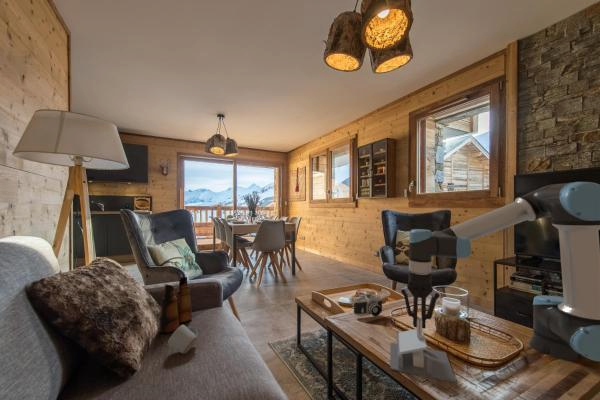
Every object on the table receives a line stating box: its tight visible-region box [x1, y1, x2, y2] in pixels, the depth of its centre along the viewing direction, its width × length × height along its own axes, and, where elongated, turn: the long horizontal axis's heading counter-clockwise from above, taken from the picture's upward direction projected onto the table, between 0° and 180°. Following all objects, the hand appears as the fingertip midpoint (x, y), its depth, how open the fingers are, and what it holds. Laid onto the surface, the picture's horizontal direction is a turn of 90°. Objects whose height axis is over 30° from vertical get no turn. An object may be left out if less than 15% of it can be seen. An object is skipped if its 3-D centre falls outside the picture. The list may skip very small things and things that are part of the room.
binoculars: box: [158, 276, 193, 334], centre depth 122 cm, size 18×8×20 cm, turn 169°
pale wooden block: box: [411, 351, 424, 368], centre depth 94 cm, size 3×9×3 cm, turn 161°
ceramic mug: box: [167, 324, 198, 355], centre depth 100 cm, size 11×8×8 cm
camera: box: [353, 293, 383, 317], centre depth 133 cm, size 16×9×10 cm, turn 104°
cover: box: [397, 328, 428, 354], centre depth 95 cm, size 9×14×1 cm, turn 161°
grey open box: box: [389, 330, 457, 384], centre depth 94 cm, size 20×17×6 cm
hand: (419, 335), depth 94 cm, fingers closed
